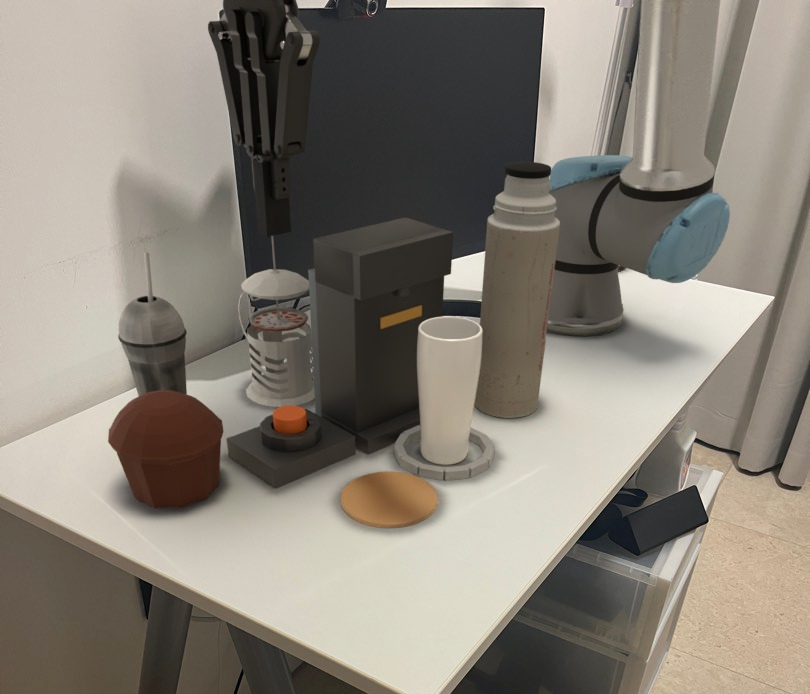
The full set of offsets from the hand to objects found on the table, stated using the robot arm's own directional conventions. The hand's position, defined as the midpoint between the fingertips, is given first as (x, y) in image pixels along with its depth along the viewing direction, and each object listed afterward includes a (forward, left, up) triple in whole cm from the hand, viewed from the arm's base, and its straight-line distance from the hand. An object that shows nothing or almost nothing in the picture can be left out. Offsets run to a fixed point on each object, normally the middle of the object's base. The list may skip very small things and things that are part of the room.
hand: (274, 232), depth 78 cm
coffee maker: (-13, +6, -24) cm, 28 cm away
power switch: (0, 0, -24) cm, 24 cm away
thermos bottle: (-28, +7, -25) cm, 38 cm away
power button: (0, 0, -21) cm, 21 cm away
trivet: (-2, +14, -24) cm, 28 cm away
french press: (-9, -15, -25) cm, 30 cm away
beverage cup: (+7, -15, -25) cm, 30 cm away
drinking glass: (-13, +11, -25) cm, 30 cm away
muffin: (+13, -3, -25) cm, 28 cm away
